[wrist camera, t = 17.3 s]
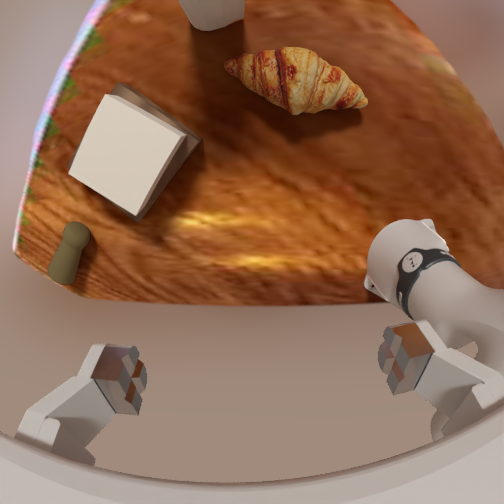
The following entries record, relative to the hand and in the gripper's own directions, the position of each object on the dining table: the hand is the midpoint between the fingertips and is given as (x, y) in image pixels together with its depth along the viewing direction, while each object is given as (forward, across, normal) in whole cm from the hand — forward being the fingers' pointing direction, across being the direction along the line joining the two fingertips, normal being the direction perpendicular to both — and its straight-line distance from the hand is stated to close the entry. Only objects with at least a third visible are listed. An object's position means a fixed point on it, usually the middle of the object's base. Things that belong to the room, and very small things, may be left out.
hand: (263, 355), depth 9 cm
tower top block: (+33, +16, -5) cm, 37 cm away
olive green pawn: (+34, +36, +15) cm, 52 cm away
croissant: (+37, -8, -11) cm, 39 cm away
